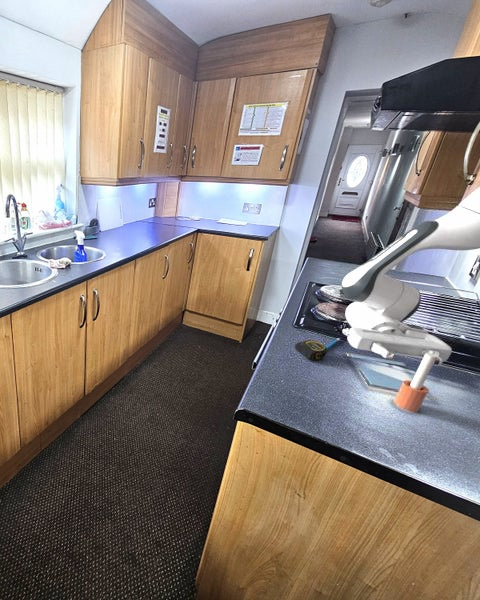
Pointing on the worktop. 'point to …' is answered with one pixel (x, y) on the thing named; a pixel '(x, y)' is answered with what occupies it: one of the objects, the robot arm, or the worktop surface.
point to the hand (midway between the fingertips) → (413, 359)
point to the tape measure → (311, 349)
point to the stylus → (423, 371)
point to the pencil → (332, 343)
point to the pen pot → (410, 397)
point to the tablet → (381, 376)
